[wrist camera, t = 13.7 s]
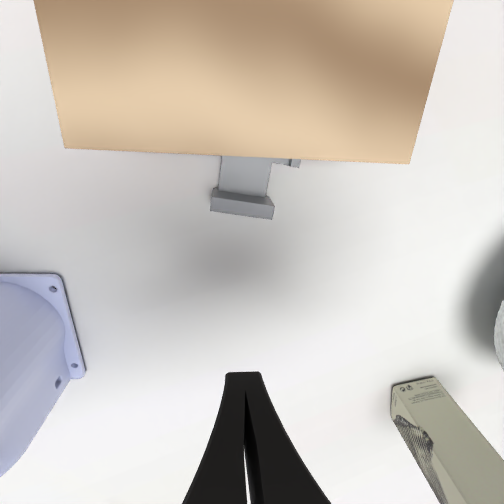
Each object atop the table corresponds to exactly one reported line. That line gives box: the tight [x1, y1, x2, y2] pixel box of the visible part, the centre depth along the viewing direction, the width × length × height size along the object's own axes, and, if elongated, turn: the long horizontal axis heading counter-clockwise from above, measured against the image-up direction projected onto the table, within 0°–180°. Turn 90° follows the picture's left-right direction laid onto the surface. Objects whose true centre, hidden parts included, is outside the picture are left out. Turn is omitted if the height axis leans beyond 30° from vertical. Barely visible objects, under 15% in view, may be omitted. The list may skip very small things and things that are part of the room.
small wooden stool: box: [34, 0, 454, 164], centre depth 12 cm, size 8×13×7 cm, turn 87°
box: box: [391, 377, 504, 504], centre depth 22 cm, size 5×4×13 cm
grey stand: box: [210, 156, 301, 220], centre depth 14 cm, size 10×6×5 cm, turn 170°
